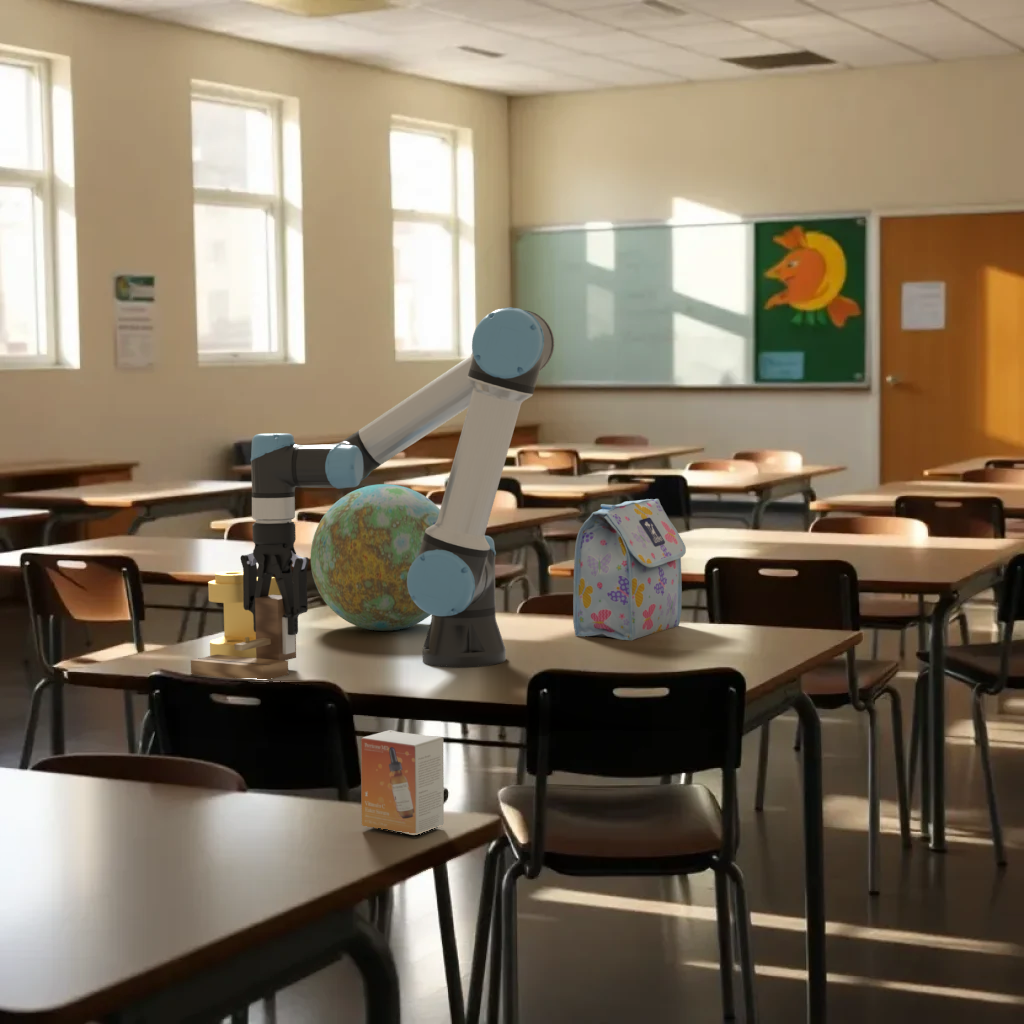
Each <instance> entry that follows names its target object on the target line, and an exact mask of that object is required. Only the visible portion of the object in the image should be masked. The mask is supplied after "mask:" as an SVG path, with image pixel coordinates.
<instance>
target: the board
mask: <svg viewBox="0 0 1024 1024" xmlns="http://www.w3.org/2000/svg"><path fill="white" fill-rule="evenodd" d="M191 673H192V674H191ZM190 674H191V675H197V674H198V675H197V676H208V677H210V676H211V677H217V678H228V679H237V678H257V679H270V680H272V679H271V678H273V679H276V678H281V677H284V676H288V675H289V660H285V661H284V660H272V659H261V658H250V657H239V656H228V655H212V656H210V655H208V656H203V657H198V658H195V659H190Z"/></svg>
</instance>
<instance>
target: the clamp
mask: <svg viewBox="0 0 1024 1024" xmlns="http://www.w3.org/2000/svg"><path fill="white" fill-rule="evenodd" d="M257 580H258V577H257ZM207 583H208V587H207V588H208V602H211V603H219V604H220V603H221V604H223V626H224V627H223V633H224V634H223V635H224V636H221V637H218V638H215V639H211V640H210V641H209V656H212V655H228V656H239V657H250V658H256V648H252V649H247V650H243V651H241V650H235V644H238V643H242V642H245V637H249V641H252V640H256V632H254V623H253V613H252V612H251V611H249V610H245V609H244V607H243V570H235V571H234V570H233V571H232V570H230V571H228V570H227V571H219V572H215V573H214V579H213V580H210V581H208V582H207ZM269 595H281V591H280V587H279V584H278V582H277V579H276V576H273V577H272V579H271V584H270V589H269V594H268V596H269Z"/></svg>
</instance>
